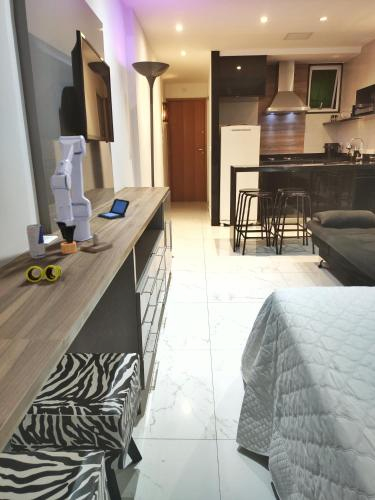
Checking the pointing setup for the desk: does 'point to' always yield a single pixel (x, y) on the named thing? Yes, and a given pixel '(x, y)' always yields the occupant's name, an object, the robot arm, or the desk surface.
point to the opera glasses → (44, 273)
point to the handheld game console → (116, 210)
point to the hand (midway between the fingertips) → (67, 240)
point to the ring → (68, 247)
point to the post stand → (96, 245)
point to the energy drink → (36, 241)
